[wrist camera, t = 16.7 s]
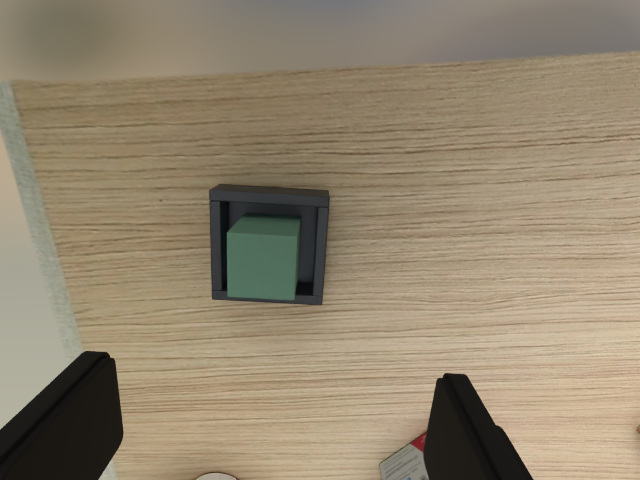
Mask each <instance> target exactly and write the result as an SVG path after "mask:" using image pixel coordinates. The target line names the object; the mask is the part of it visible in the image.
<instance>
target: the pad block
mask: <svg viewBox="0 0 640 480" xmlns="http://www.w3.org/2000/svg"><path fill="white" fill-rule="evenodd" d="M300 237H301V216H292V215H275V214H259V213H244V215H243V216H242V217H241V218H240V219H239V220H238V221H237V222H236V223H235V224H234V225H233V227H232V228H231V229H230V230H229V231H228V232H227V296H228V297H240V298H259V299H277V300H294V299H295V292H296V285H297V278H298V271H299V257H300Z"/></svg>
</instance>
